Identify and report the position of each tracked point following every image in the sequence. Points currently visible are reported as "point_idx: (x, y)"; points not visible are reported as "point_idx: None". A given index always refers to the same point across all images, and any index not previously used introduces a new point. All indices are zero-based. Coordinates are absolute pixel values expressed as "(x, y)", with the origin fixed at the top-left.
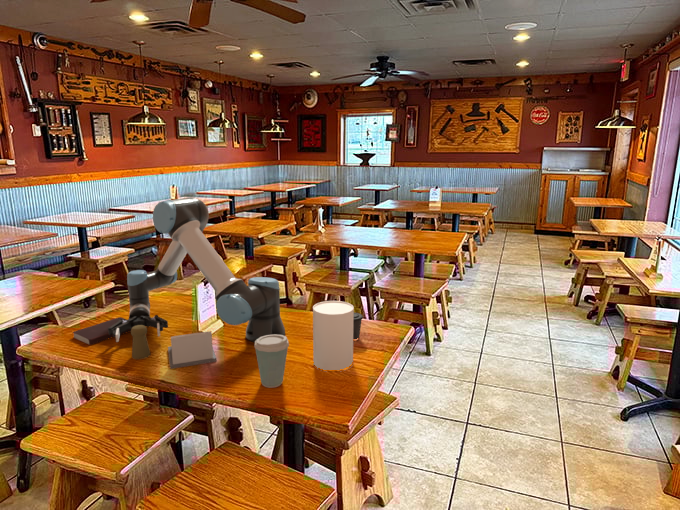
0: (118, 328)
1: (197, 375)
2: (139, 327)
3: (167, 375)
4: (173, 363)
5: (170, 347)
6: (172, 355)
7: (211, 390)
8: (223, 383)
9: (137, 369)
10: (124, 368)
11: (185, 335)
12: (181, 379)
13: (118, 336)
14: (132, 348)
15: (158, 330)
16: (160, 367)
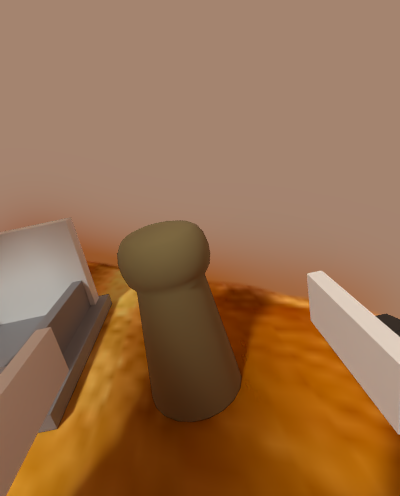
0: (392, 352)
1: None
2: (152, 224)
3: (127, 285)
4: (96, 296)
5: None
6: (89, 272)
7: None
8: None
9: None
10: (243, 303)
11: (22, 229)
12: (104, 277)
13: (321, 311)
14: (224, 329)
15: (47, 335)
16: (134, 308)
